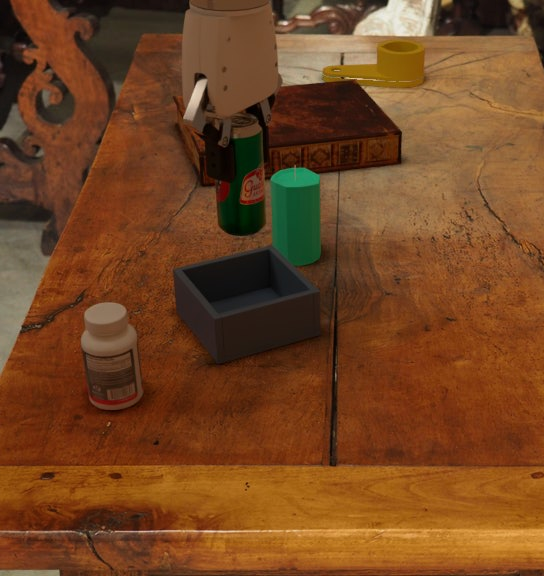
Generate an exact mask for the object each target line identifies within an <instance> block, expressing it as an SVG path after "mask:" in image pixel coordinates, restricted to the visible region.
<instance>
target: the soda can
mask: <svg viewBox="0 0 544 576" xmlns="http://www.w3.org/2000/svg"><path fill="white" fill-rule="evenodd" d="M258 121H259V120H258V118H257V117H256V116H255V115H252V114H249V113H241V112H238V113H236V114H234V115H232V123H231V131H230V139H229V144H233V145H234V158H235V176H236V178H235V181H233V182H232V183H227V182H224V181H220V180H217V179H215V185H214V187H215V188H214V189H215V203H216V218H217V226H218V227H219V228H220V230H222V232H224V233H225V234H227V235H229V236H235V237H247V236H252V235H255V234H257V233H260V232H261V230H262V229H264V227H265V226H266V224H267V206H266V205H267V204H266V181H265V180H266V179H265V178H264V154H263V129H262V127H261V126H260V124H259V123H258ZM219 125H220V120H219V119H215V125H214V127H216V128H217V129H218V130H219Z"/></svg>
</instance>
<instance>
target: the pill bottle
mask: <svg viewBox="0 0 544 576" xmlns="http://www.w3.org/2000/svg"><path fill="white" fill-rule="evenodd" d="M83 320H84V327H85V329H84V331H83V333H82V334H81V336H80V350H81V353H82V360H83V367H84V374H85V380H86V388H87V393H88V399H89V401H90V403H91V404H92V405H93V406H95V408H98V409H100V410H105V411H119V410H124V409H127V408H130V407H131V406H134V405H136V404H137V403H138V402H139V401H140V400H141V399H142V397H143V395H144V382H143V381H144V380H143V375H142V374H143V373H142V365H141V358H140V348H139V347H140V346H139V339H138V333H137V330H136V329H135V327H134V326H133V325H131V324H130V323H129V317H128V311H127V309H126V307H125V306H124V305H123V304H121V303H118V302H110V301H109V302H99V303H96V304H94V305H92V306H90V307H88V308H87V309H86V310H85V311H84V314H83Z"/></svg>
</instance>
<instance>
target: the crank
mask: <svg viewBox="0 0 544 576" xmlns="http://www.w3.org/2000/svg"><path fill="white" fill-rule="evenodd" d="M425 52H426V46H425V45H424V44H423V43H421V42H419V41H416V40H411V39H389V40H385V41H381V42H379V43H377V45H376V63H364V64H362V63H361V64H337V65H328V66H325V67H323V68H322V81H324V82H334V81H345V80H356V81H357V83H358V84H359V85H360V86H369V87H384V88H397V89H402V88H403V89H405V88H414V87H417V86H420V85H421V84H423V83H424V80H425V59H426V58H425V57H426V56H425V55H426V53H425ZM334 70H340V71H334ZM323 74H324V75H326V76H329V77H326V76H324V75H323ZM423 75H424V76H423ZM422 76H423V78H421V77H422ZM330 77H349V78H363V79H376V80H378V79H379V80H385V81H373V80H357V79H342V78H330ZM419 78H421V79H419ZM416 79H419V80H416ZM411 80H412V82H399V81H411ZM413 80H416V81H413ZM388 81H396V82H388Z"/></svg>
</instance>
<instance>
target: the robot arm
mask: <svg viewBox="0 0 544 576" xmlns="http://www.w3.org/2000/svg"><path fill="white" fill-rule="evenodd" d="M188 2H189V3H188V4H189V9H187V10H185V14H184V21H183V28H182V43H181V87H182V88H181V89H182V95H183V101H184V106H185V108H186V112H185V115H184V117H183V124H184V125H185V126H186V127H188V128H189V129H191V130H192V131H194V133H195V134H197V135H198V136H199V137H200V141H201V142H205V157H206V171H207V176H208V177H210V178H213V179H217V180H220V181H224V182H227V183H232V182H233V181H235V178H236V176H235V158H234V145H233V144H229V139H230V131H231V123H232V115H234V114H236V113H238V112H240V111H242V112H243V113H249V114H252V115H255V116H256V117H257V118H258V120H259V121H258V123H259V124H260V126H261V127H262V129H263V154H264V163H266V162H268V161H269V160H270V154H269V128H268V126H266V124H267V125H268V124H270V122H271V120H272V115H271V109H272V107H273V105H274V102H275V96H276V95H277V93H278V91H279V89H280V87H281V86H283V77H282V75H281V74H280V73H279V56H278V45H277V43H278V42H277V34H276V26H275V20H274V13H273V9H272V5H271V0H189V1H188ZM214 106H215V110H213V107H214ZM213 118H215V119H219V120H220V125H219V130H218V129H217V128H216V127H214V126H213Z"/></svg>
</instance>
